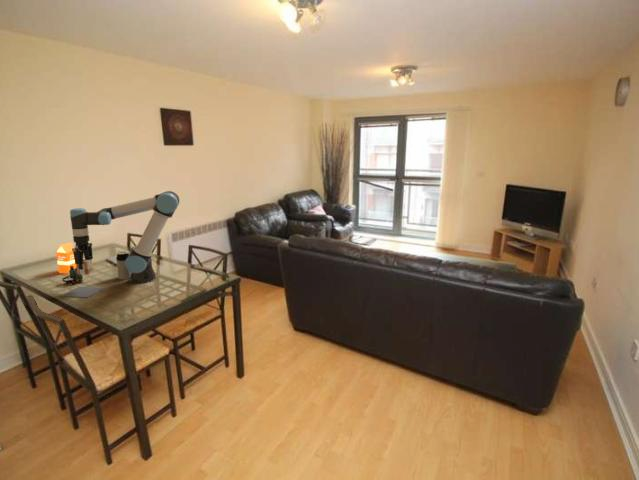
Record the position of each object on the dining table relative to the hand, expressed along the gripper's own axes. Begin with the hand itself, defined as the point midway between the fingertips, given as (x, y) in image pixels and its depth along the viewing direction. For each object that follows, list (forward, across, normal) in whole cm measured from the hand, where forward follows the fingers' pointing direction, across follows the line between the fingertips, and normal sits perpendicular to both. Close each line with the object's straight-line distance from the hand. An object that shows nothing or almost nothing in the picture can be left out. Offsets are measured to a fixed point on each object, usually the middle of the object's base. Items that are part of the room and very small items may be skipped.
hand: (85, 272), depth 199 cm
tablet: (+12, -57, -13) cm, 60 cm away
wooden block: (0, 0, 0) cm, 1 cm away
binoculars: (+11, -9, -16) cm, 22 cm away
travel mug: (+11, -23, +9) cm, 27 cm away
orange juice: (+11, -30, -35) cm, 47 cm away
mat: (+11, +4, 0) cm, 12 cm away
